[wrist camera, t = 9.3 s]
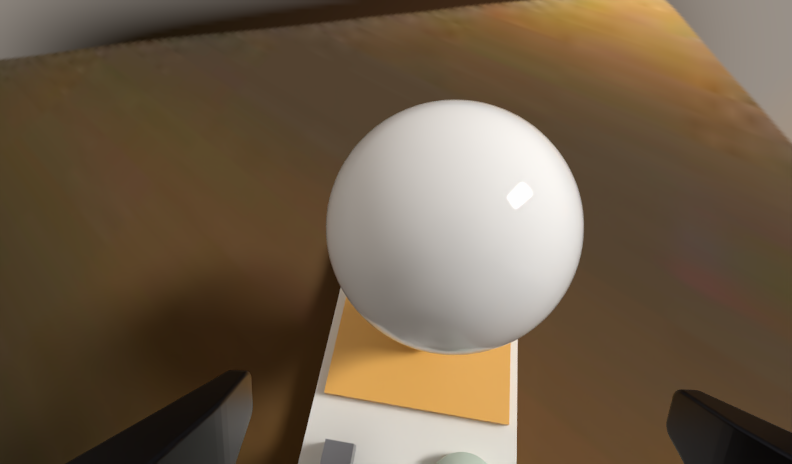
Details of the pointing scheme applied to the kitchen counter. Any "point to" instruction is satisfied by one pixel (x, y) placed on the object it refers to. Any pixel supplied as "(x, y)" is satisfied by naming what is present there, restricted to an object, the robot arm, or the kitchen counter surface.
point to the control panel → (409, 401)
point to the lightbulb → (454, 227)
